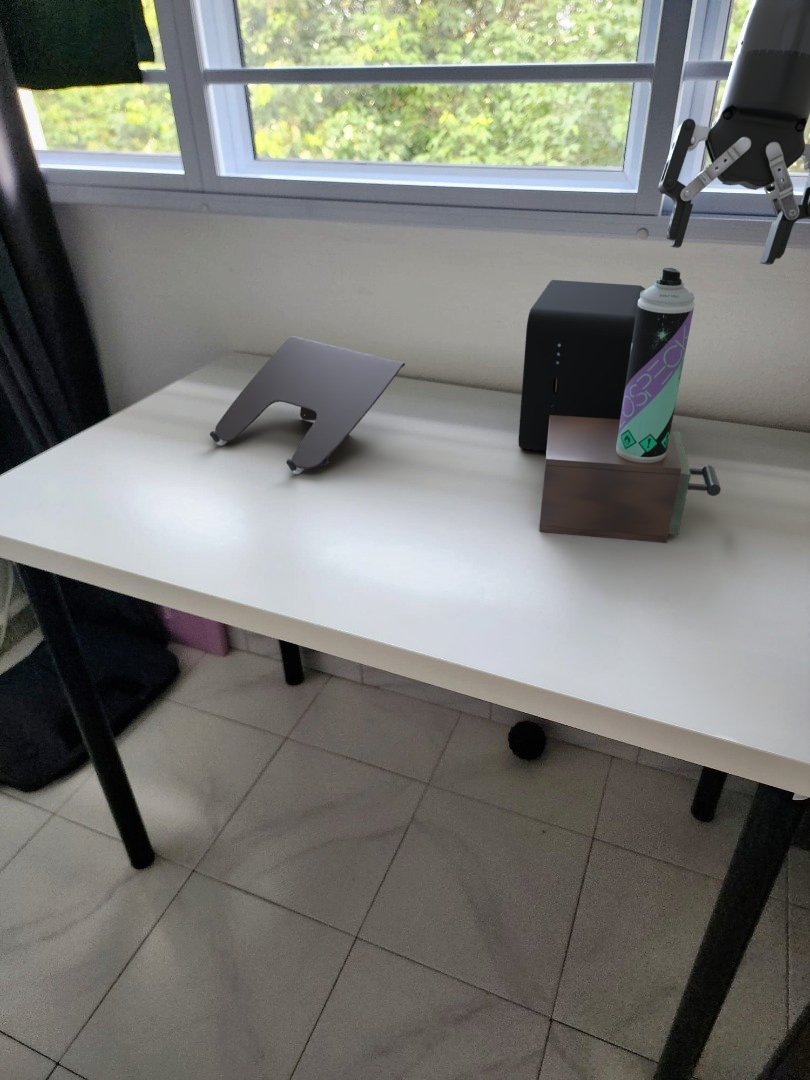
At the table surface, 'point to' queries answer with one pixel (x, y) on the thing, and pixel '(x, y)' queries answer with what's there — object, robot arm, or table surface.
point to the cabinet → (604, 484)
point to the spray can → (655, 368)
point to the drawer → (690, 484)
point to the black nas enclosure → (576, 355)
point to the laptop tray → (312, 395)
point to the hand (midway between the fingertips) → (720, 255)
